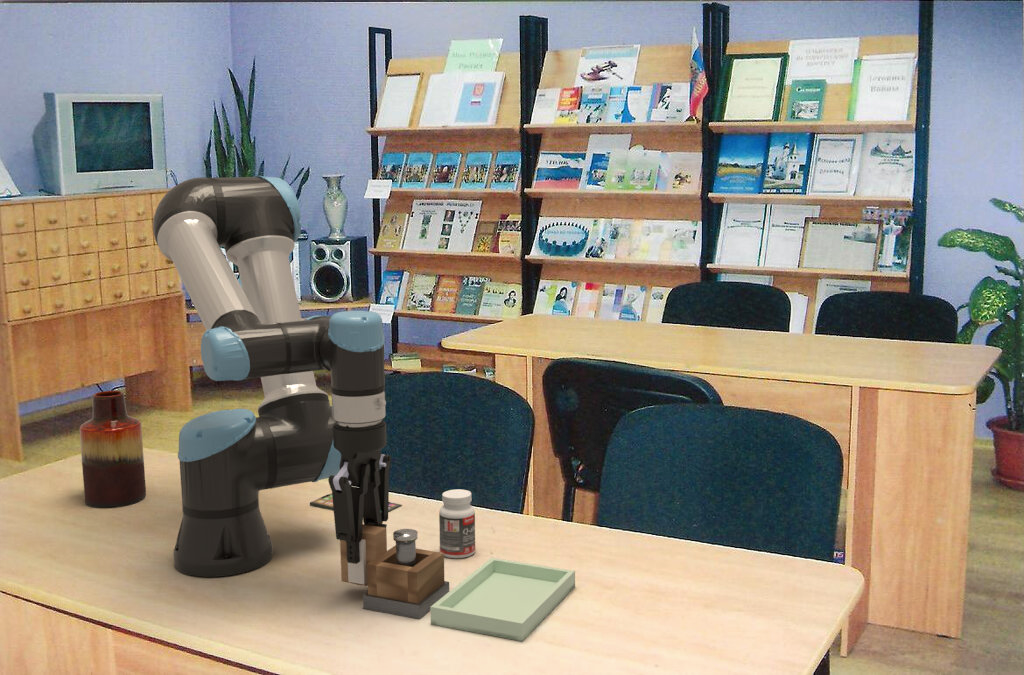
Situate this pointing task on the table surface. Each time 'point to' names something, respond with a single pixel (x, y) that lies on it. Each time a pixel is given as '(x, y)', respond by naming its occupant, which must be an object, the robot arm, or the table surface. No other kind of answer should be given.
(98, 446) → the vase
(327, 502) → the smartphone
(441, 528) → the pill bottle
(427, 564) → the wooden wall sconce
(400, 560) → the grey peg stand
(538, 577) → the tray
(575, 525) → the table surface
